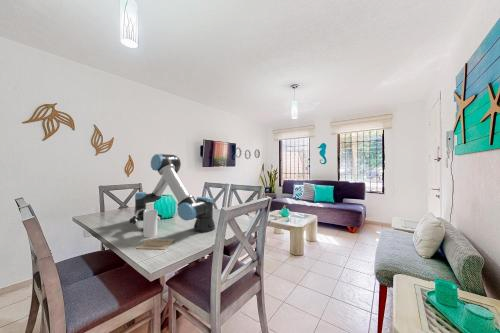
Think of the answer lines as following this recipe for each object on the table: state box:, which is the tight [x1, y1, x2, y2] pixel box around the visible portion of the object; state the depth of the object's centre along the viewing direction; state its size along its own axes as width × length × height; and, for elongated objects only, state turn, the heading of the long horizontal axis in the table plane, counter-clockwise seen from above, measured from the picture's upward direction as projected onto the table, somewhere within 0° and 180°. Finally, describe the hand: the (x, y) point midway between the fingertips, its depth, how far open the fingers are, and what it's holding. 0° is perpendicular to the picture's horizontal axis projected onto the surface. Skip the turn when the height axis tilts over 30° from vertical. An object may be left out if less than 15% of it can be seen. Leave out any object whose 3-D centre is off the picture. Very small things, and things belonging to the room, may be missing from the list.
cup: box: [142, 209, 158, 238], centre depth 129 cm, size 8×8×16 cm
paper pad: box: [135, 238, 175, 250], centre depth 115 cm, size 16×13×1 cm
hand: (148, 221), depth 131 cm, fingers open, 13 cm apart
